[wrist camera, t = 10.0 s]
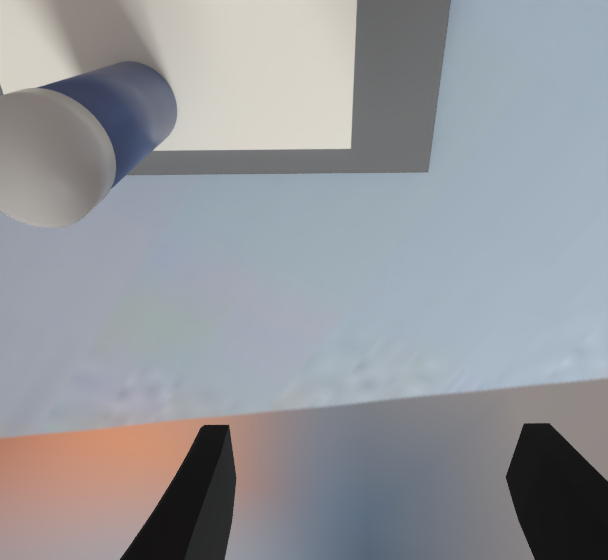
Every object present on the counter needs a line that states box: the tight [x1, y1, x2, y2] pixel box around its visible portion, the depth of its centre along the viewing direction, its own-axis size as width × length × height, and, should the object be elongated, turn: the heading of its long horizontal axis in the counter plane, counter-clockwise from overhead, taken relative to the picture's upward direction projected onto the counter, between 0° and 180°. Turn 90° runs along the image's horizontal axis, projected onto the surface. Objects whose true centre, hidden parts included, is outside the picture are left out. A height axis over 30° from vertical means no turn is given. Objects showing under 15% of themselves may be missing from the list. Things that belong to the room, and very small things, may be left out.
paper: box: [0, 0, 357, 151], centre depth 15 cm, size 12×8×1 cm, turn 91°
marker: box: [0, 61, 177, 228], centre depth 13 cm, size 3×3×7 cm
